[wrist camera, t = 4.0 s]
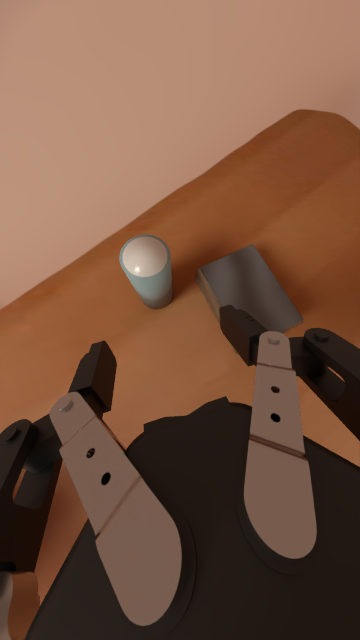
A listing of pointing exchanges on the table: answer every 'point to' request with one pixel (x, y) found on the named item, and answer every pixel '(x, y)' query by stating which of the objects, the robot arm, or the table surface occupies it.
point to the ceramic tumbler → (148, 269)
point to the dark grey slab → (248, 289)
